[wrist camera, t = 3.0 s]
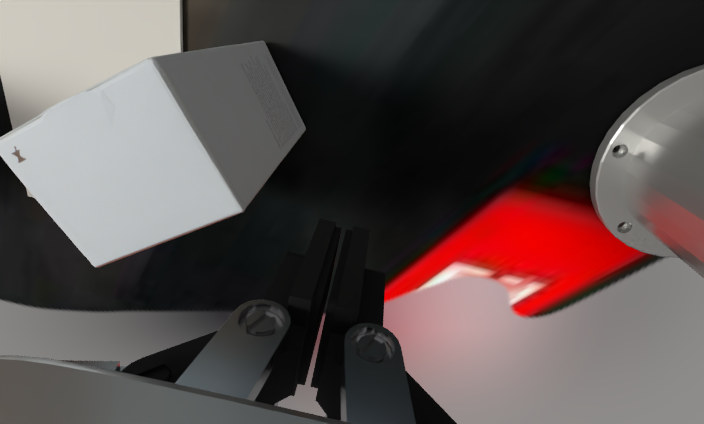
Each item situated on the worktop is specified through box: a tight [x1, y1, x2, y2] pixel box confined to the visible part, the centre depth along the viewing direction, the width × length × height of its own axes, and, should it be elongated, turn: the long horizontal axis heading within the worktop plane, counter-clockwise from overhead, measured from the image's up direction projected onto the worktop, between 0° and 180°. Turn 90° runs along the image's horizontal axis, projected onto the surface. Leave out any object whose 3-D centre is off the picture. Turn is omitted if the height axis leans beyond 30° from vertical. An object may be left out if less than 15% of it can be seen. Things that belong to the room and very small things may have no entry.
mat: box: [0, 0, 183, 198], centre depth 27 cm, size 14×20×1 cm
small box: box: [0, 41, 306, 267], centre depth 20 cm, size 8×6×13 cm
